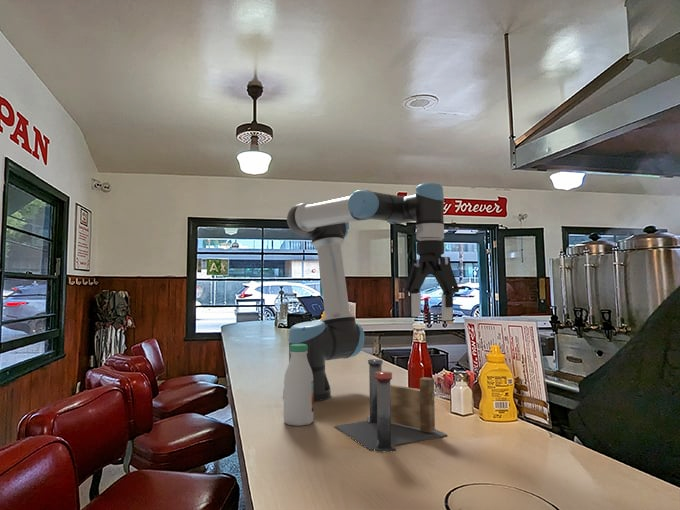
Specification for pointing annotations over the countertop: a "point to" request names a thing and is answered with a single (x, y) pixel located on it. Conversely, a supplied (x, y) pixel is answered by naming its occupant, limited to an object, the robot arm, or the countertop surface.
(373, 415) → the hinge post
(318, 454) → the countertop surface
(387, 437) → the post
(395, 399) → the gate
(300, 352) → the milk bottle
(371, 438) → the bar mat
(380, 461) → the countertop surface
